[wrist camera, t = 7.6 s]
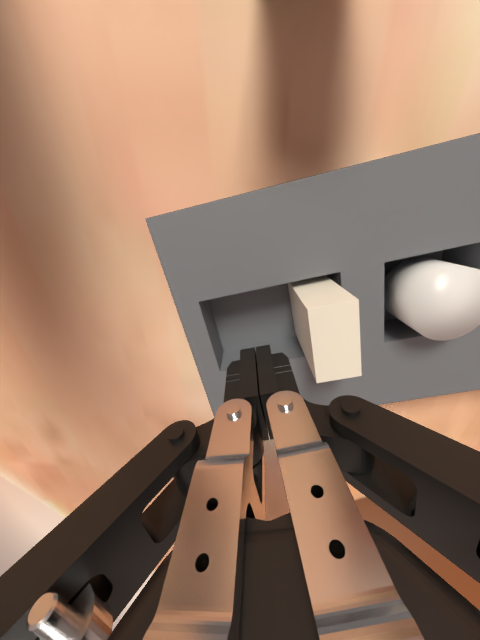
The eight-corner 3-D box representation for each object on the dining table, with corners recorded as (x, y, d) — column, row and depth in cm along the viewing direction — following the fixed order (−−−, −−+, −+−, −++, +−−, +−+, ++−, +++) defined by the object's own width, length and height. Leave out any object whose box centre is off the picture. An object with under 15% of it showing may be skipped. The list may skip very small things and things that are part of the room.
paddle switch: (295, 333, 19) (316, 383, 13) (287, 279, 17) (307, 309, 12) (326, 327, 19) (361, 375, 13) (320, 272, 17) (358, 299, 11)
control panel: (222, 395, 23) (218, 429, 19) (167, 218, 17) (145, 218, 13) (574, 336, 20) (649, 363, 16) (658, 93, 14) (806, 49, 10)
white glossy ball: (379, 322, 17) (410, 346, 14) (379, 264, 16) (414, 277, 13) (441, 310, 17) (488, 333, 14) (447, 250, 15) (502, 259, 12)
